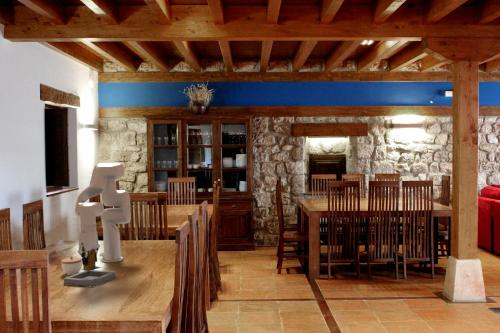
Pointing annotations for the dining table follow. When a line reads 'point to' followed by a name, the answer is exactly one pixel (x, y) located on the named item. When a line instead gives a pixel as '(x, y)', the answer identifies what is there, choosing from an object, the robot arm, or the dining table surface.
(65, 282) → the tray
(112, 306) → the dining table surface
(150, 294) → the dining table surface
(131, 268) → the dining table surface
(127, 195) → the robot arm
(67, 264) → the lidded jar
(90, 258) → the condiment
